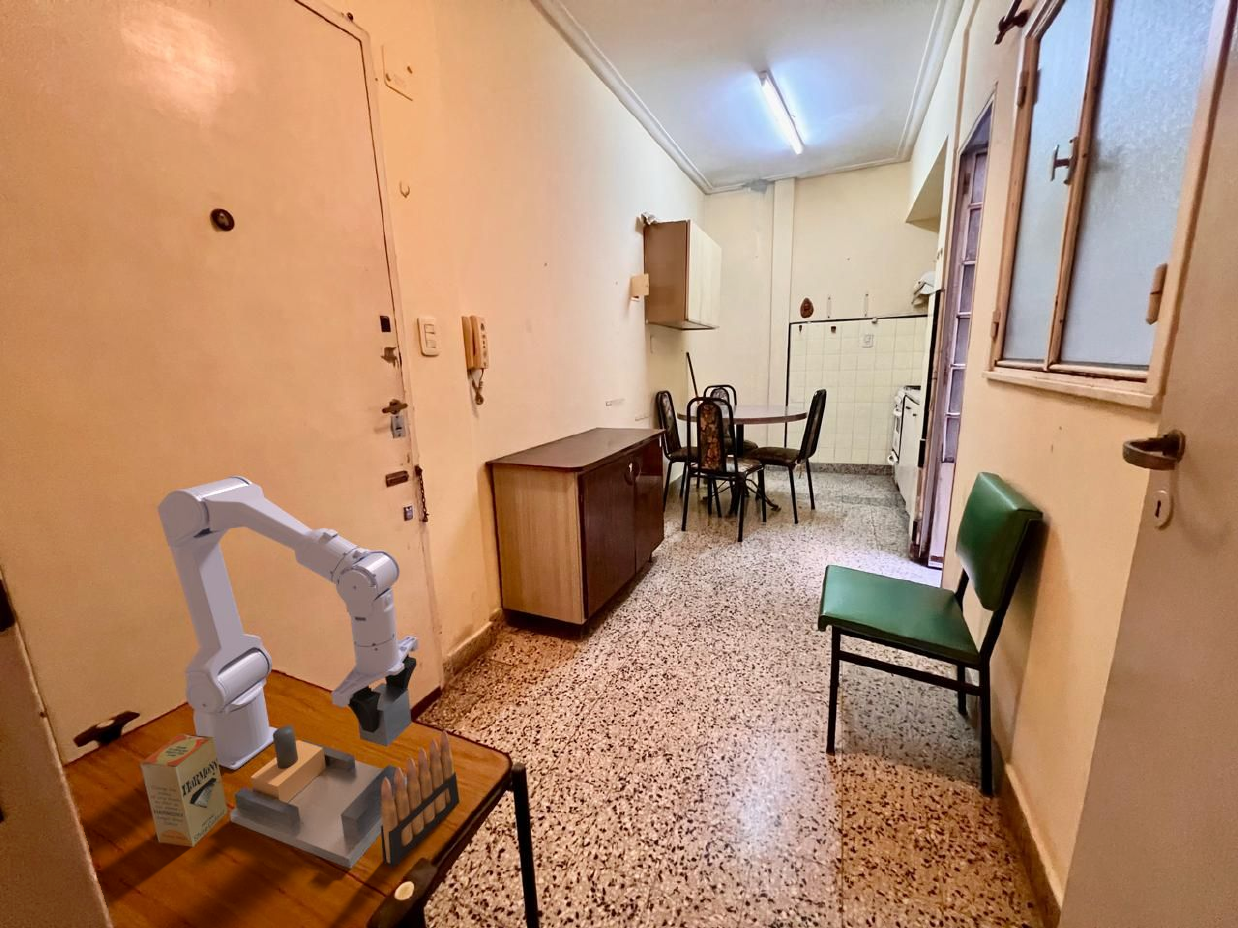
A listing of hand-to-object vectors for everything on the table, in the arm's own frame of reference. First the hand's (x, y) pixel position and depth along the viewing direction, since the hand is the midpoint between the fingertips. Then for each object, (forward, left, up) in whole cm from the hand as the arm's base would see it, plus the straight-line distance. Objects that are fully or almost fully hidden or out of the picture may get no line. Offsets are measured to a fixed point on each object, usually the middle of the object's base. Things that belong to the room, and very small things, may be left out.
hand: (384, 716), depth 73 cm
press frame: (-3, -8, -8) cm, 12 cm away
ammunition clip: (+13, -7, -8) cm, 17 cm away
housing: (0, 0, -2) cm, 2 cm away
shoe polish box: (-17, -16, -8) cm, 25 cm away
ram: (-9, -9, -7) cm, 14 cm away
